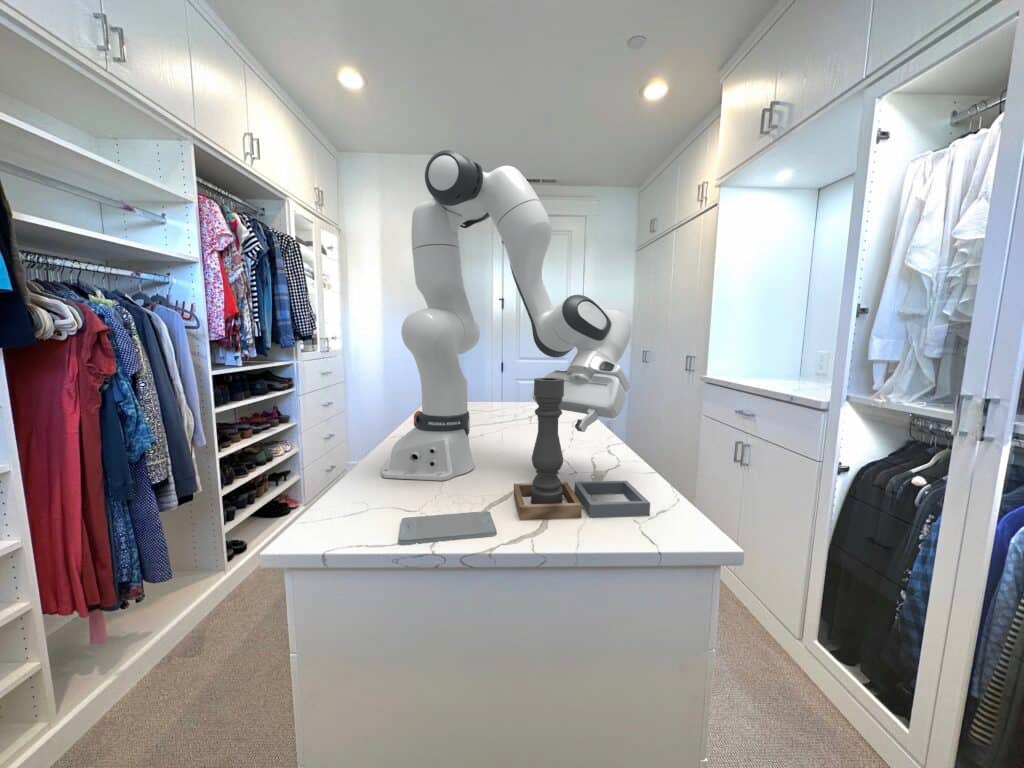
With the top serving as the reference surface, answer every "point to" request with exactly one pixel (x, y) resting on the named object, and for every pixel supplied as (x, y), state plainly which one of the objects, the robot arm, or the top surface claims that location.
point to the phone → (446, 527)
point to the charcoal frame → (611, 509)
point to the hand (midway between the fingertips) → (559, 425)
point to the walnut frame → (546, 510)
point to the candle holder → (547, 442)
